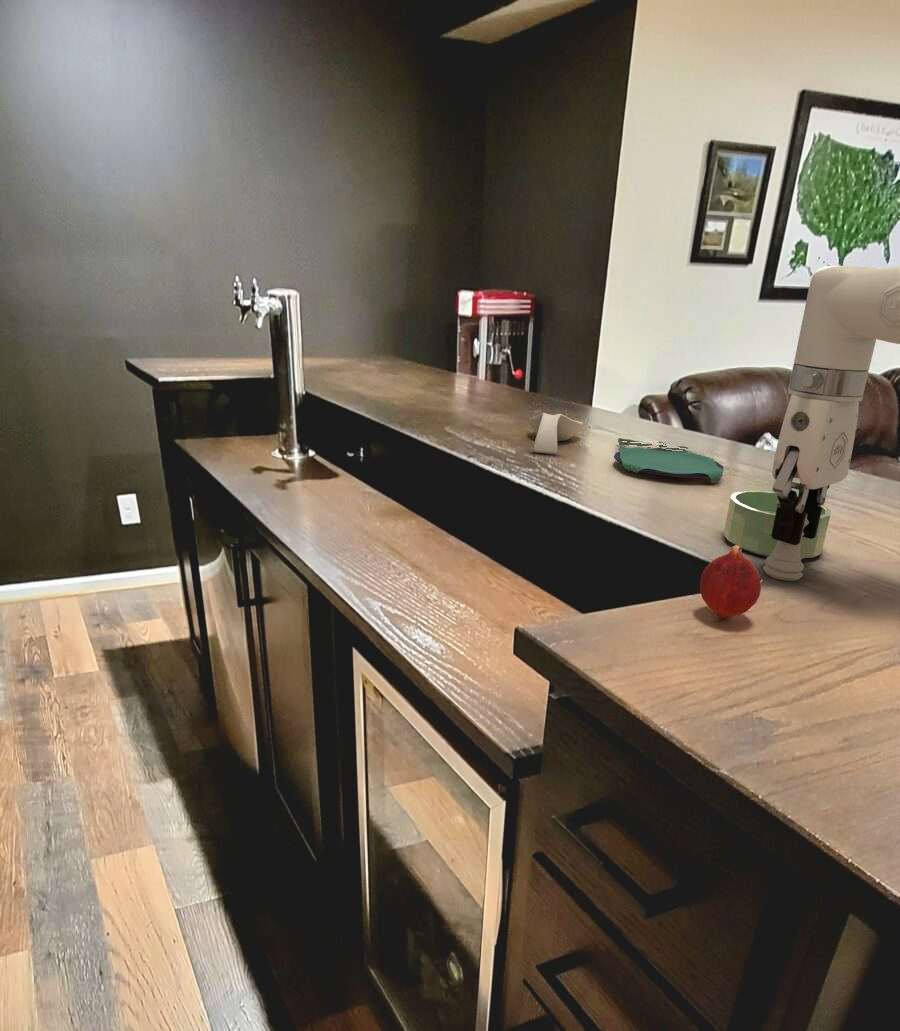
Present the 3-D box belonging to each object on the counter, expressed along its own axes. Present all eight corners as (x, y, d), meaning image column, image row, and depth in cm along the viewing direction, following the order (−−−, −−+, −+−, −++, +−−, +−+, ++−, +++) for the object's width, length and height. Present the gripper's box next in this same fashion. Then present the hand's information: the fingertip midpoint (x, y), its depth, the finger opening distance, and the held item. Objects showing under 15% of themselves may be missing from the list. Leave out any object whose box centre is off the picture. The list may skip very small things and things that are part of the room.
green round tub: (800, 534, 103) (809, 494, 101) (836, 566, 92) (846, 521, 90) (713, 527, 104) (720, 487, 102) (738, 558, 92) (746, 513, 91)
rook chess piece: (755, 572, 88) (768, 510, 85) (772, 565, 91) (785, 504, 88) (792, 585, 85) (806, 520, 82) (808, 577, 88) (822, 514, 85)
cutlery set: (615, 479, 127) (617, 466, 126) (607, 443, 155) (609, 433, 155) (732, 490, 124) (734, 477, 124) (703, 452, 153) (705, 441, 152)
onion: (762, 633, 72) (778, 558, 70) (705, 630, 72) (719, 555, 70) (739, 607, 78) (754, 538, 75) (687, 605, 78) (699, 535, 75)
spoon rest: (530, 430, 165) (533, 398, 163) (582, 435, 162) (586, 403, 160) (516, 451, 143) (519, 416, 141) (576, 458, 140) (580, 422, 138)
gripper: (828, 392, 72) (791, 562, 78) (891, 385, 83) (854, 535, 88) (758, 382, 78) (727, 541, 84) (825, 376, 88) (794, 518, 94)
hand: (793, 536), depth 86 cm, fingers closed on rook chess piece, 3 cm apart
